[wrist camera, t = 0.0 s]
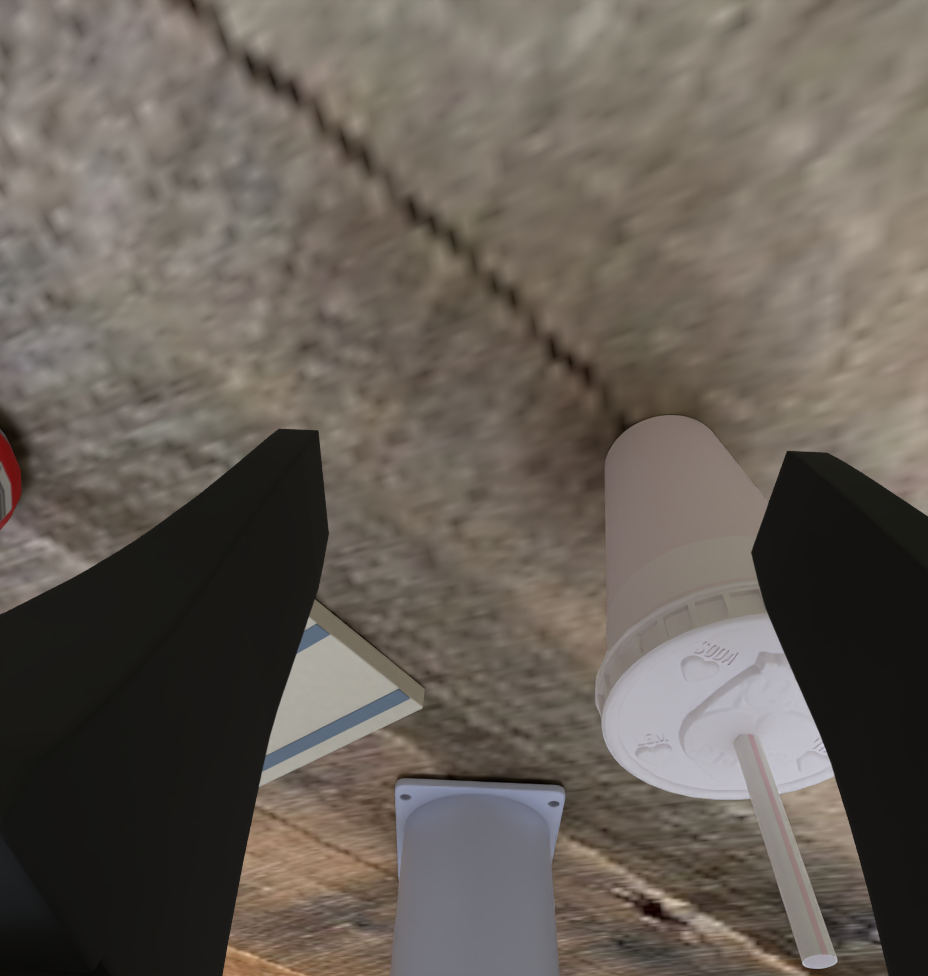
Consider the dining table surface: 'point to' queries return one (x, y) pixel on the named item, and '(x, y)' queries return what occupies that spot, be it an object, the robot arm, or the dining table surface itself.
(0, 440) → the beer can
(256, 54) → the dining table surface
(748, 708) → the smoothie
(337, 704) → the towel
